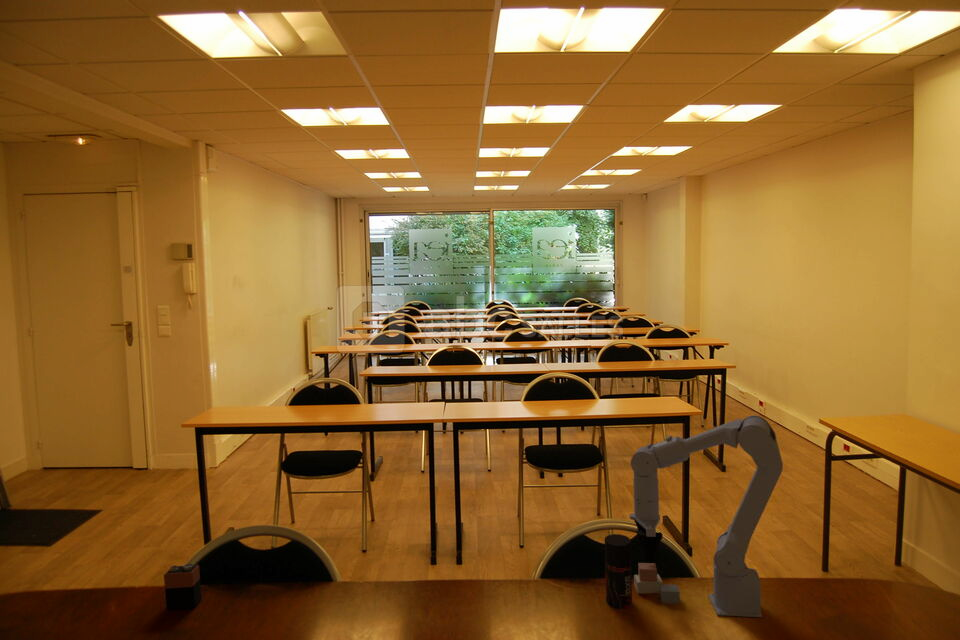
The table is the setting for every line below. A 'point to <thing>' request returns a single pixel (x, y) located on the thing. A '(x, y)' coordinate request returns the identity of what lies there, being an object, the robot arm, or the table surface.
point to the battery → (182, 587)
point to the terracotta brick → (647, 572)
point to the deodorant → (618, 571)
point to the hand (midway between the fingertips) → (647, 552)
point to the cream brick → (647, 585)
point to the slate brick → (669, 594)
